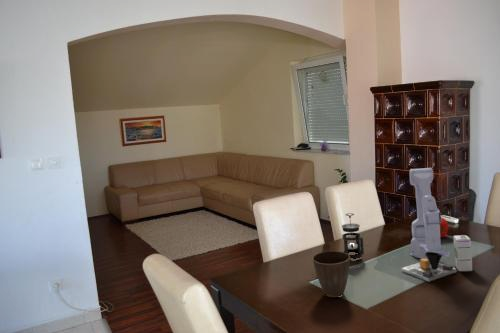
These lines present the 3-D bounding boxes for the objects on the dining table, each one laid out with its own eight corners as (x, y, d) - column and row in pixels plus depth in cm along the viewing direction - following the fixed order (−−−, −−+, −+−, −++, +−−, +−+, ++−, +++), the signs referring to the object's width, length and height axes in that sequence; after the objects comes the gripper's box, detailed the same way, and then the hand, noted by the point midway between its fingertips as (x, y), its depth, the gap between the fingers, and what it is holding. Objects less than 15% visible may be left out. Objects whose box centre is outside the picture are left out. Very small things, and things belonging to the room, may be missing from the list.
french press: (338, 258, 210) (335, 214, 207) (350, 253, 215) (347, 210, 213) (357, 263, 200) (353, 217, 198) (369, 258, 206) (366, 213, 203)
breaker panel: (401, 271, 186) (401, 265, 185) (428, 262, 193) (428, 256, 192) (428, 281, 172) (428, 274, 172) (456, 271, 179) (456, 265, 179)
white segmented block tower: (472, 271, 178) (471, 238, 177) (458, 271, 179) (456, 239, 178) (468, 266, 184) (467, 234, 182) (454, 266, 185) (452, 235, 183)
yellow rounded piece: (420, 267, 184) (419, 259, 184) (424, 265, 185) (424, 258, 185) (425, 269, 181) (425, 261, 181) (429, 267, 182) (429, 260, 182)
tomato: (428, 238, 235) (438, 246, 222) (415, 222, 234) (424, 228, 221) (447, 225, 234) (457, 232, 220) (433, 208, 233) (443, 214, 219)
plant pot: (345, 305, 159) (342, 265, 157) (310, 299, 167) (306, 261, 165) (357, 289, 171) (354, 252, 170) (323, 285, 179) (320, 249, 178)
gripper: (413, 236, 182) (414, 266, 183) (440, 244, 169) (442, 276, 170) (424, 233, 185) (426, 262, 186) (452, 240, 171) (454, 271, 173)
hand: (434, 268), depth 178 cm, fingers closed
